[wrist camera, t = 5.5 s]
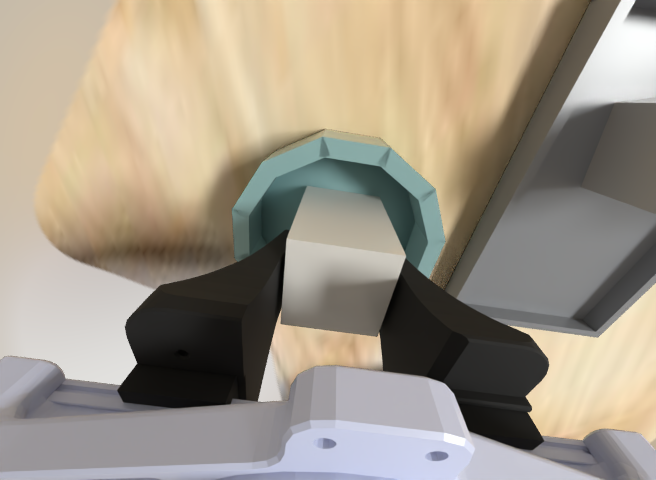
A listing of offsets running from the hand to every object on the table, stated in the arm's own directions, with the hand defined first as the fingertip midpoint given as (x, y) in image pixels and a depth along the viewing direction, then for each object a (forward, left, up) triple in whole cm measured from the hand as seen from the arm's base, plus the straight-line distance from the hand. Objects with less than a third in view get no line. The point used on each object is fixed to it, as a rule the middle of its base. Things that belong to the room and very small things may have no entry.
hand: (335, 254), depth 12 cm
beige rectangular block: (+1, 0, -2) cm, 3 cm away
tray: (+4, -14, -3) cm, 15 cm away
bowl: (0, 0, -3) cm, 3 cm away
